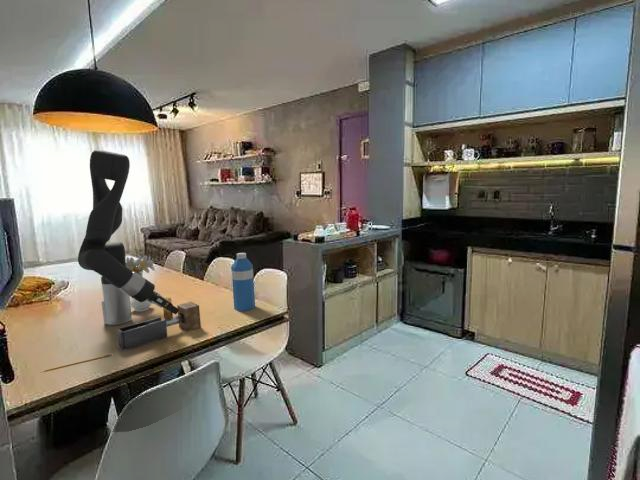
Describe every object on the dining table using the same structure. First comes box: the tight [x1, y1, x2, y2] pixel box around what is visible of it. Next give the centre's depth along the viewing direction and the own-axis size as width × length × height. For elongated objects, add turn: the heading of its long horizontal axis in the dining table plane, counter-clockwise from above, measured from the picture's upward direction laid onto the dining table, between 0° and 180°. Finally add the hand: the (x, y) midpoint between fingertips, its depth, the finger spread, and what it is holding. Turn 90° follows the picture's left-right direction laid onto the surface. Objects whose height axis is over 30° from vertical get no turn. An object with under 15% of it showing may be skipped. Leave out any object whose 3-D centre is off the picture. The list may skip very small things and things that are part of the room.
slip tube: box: [149, 297, 184, 327], centre depth 130 cm, size 16×3×11 cm, turn 136°
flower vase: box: [126, 253, 156, 312], centre depth 157 cm, size 13×18×25 cm
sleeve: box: [116, 316, 168, 351], centre depth 123 cm, size 15×5×6 cm, turn 136°
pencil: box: [39, 353, 113, 373], centre depth 109 cm, size 19×1×1 cm
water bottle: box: [230, 252, 256, 312], centre depth 155 cm, size 9×9×25 cm
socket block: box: [176, 301, 202, 332], centre depth 135 cm, size 6×7×9 cm
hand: (172, 309), depth 130 cm, fingers open, 7 cm apart
